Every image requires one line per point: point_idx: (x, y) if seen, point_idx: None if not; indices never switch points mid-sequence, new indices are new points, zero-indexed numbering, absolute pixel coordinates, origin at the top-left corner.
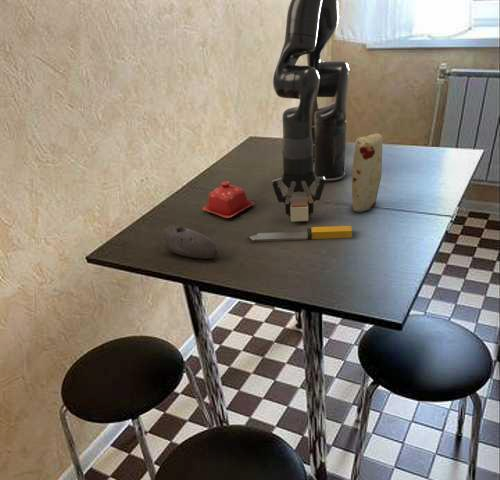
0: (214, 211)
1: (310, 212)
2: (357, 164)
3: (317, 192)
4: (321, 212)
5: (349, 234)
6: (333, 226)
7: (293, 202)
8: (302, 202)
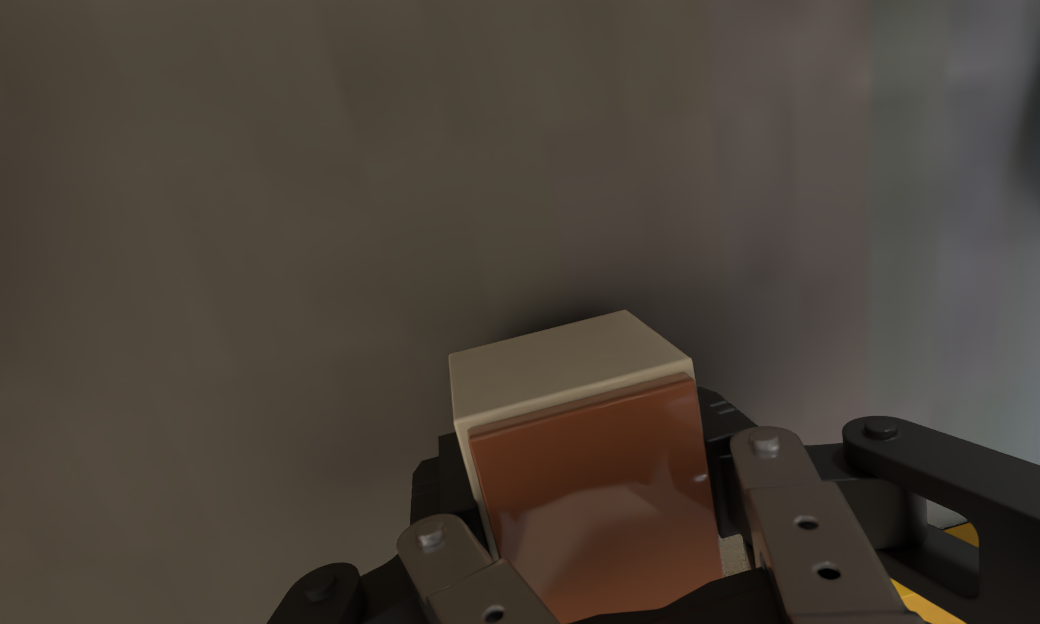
0: None
1: None
2: None
3: (962, 617)
4: (736, 212)
5: None
6: None
7: (540, 587)
8: (661, 567)
